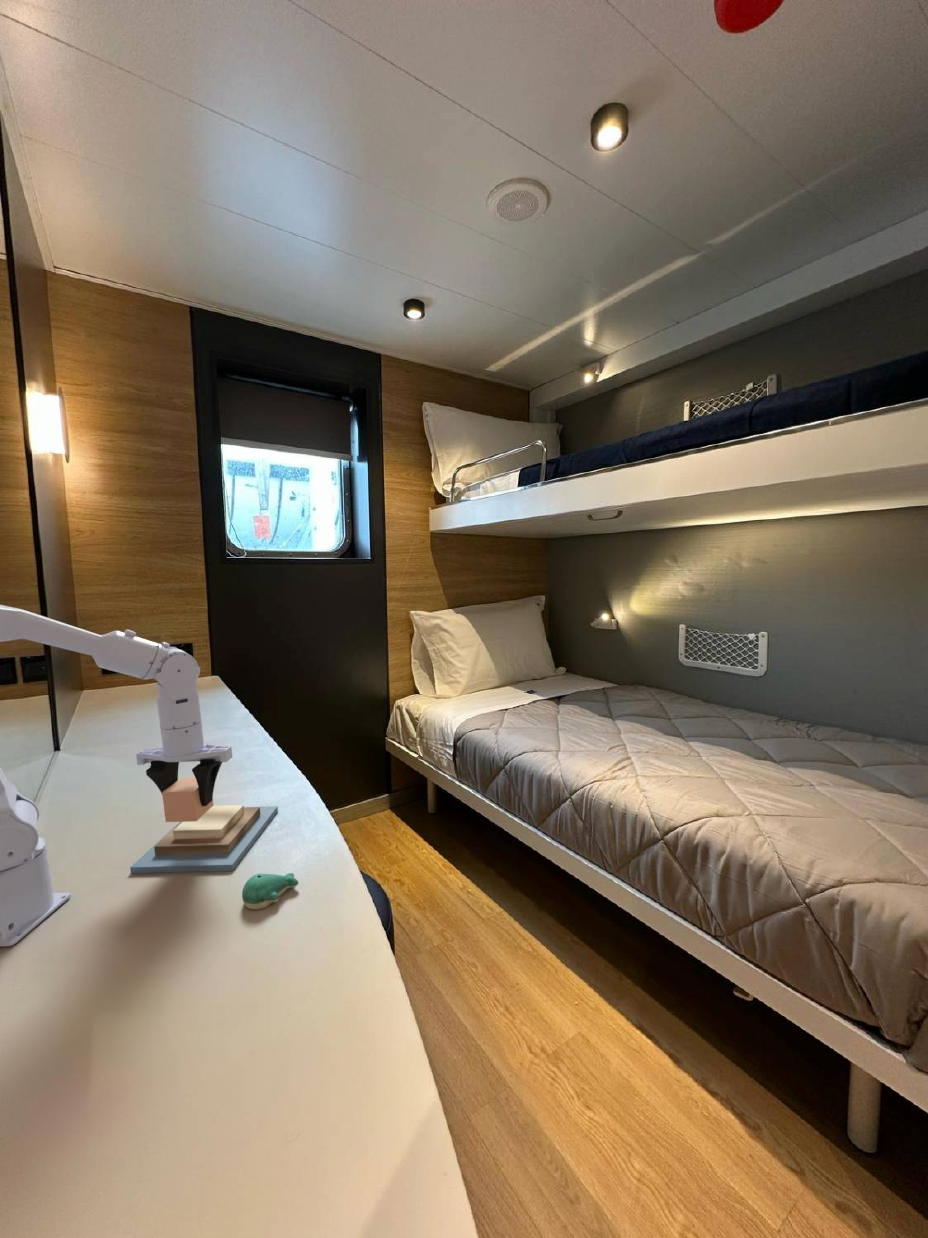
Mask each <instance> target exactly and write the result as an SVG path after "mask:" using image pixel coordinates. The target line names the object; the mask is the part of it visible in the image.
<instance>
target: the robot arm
mask: <svg viewBox="0 0 928 1238" xmlns="http://www.w3.org/2000/svg"><path fill="white" fill-rule="evenodd" d="M136 635H137V632H135V631H133V630H130V629H125V630H124V632H123V631H120V630H113V631H110V632H107V633H105V634H98V633H95V632H92V631H89V630H86V629H83V628H79V627H77V626H73V625H71V624H67V623H65V622H61V621H59V620H56V619H53V618H49V617H47V616H44V615H40V614H37V613H35V612H31V611H28V610H24V609H22V608H18V607H14V606H13V607H12V606H8V605H3V604H0V643H2V642H9V641H17V640H27V641H32V642H36V643H39V644H44V645H48V646H51V647H56V648H59V649H63V650H68V651H72V652H76V653H79V654H84V655H88V656H91V657H92V658H93V660H94V662H95V664H96V666H97V667H98V668H101V669H104V670H108V671H112V672H115V673H119V674H123V675H126V676H127V675H128V676H130V677H134V678H138V679H140V680H150V679H154V680H155V681H157V682H156V690H157V699H156V703H157V709H158V719H159V728H160V736H161V745H162V746H161V747H160V746H159V747H153V748H143V749H141V750H140V751H138V752H137V753H135V755H136V765H138V766H144V765H146V764H150V765H149V766H150V767H149V768H147V769H146V770H145V773H146V776H147V777H148V778H149V779H151V781H152V782H153V783H154V784H155V786H156V788H158V790H159V792H160V794H162V792H163V791H164V790H166V789H167V788H168V787H170V786H171V785H172V784H174V783H175V782H176V781H178V780H179V766H180V763H184V762H187V763H188V762H189V763H191V762H199V763H198V764H197V765H195V766H194V767H193V768H192V769H191V772H192V773H193V775H194V778H196V781H197V784H198V788H199V795H200V802H201V805H202V806H207V805H208V804H209V803H210V802H211V801H212V798H213V797H214V790H215V785H216V780H217V776H218V774H219V772H220V768H221V766H222V765H223V763H228V762H229V761H230V760H231V759H232V758H233V749H232V746H231V745H229V746H226V745H225V746H224V745H217V744H209V743H204V733H203V724H202V716H201V705H200V704H201V703H200V697H199V692H198V690H197V689H198V688H197V687H198V684H197V680H198V678H199V676H200V673H201V667H200V666H199V664H198V661H197V660H196V659H195V658H194V656H192V654H189V653H187V652H186V651H184V650H183V649H179V648H177V647H176V646H171V645H170V643H168V642H165V641H162V642H161V643H158V642H155V641H151V640H148V639H147V638H146V639H145V638H142V637H139V636H136ZM18 790H19V789H17V786H16V785H14V784H13V783H12V782H11V781H10V780H9V779H8V778H7V777H6V774H5V773H4V771H3V769H2V768H1V767H0V947H11V946H14V945H15V944H17V943H18V942H19V941H20V940H21V939H23V938H24V937H25V936H26V935H27V934H29V932H31V931H32V930H33V929H34V928H35V927H37V926H38V925H39V924H40V923H41V922H42V921H44V920H45V919H46V918H48V916H50V915H51V914H52V913H53V912H54V911H55V910H57V909H58V908H59V907H60V906H62V905H63V903H65V902H66V901H67V900H69V899H70V898H71V897H72V893H71V892H54V888H53V887H54V886H53V881H52V874H51V867H50V861H49V854H48V847H47V841H46V840H45V838H43V837H41V836H39V831H38V821H39V817H40V810H39V807H38V805H37V804H36V803H35V802H34V801H33V800H31V799H29V798H28V797H25V796H23V795H22V794H21V793H20V791H18ZM213 799H214V798H213Z"/></svg>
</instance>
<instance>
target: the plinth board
mask: <svg viewBox="0 0 928 1238" xmlns="http://www.w3.org/2000/svg"><path fill="white" fill-rule="evenodd" d="M278 807H279V806H278V805H275V806H274V805H272V806H245V805H244V804H235V805H234V804H233V805H229V804H228V805H213V806H212V807H211V808H210V809H209V810H208V811H207V812H206V813H205V814H204V815H203V816H202V817H201V818H200V819H199V820H198V821H188V822H178V823H177V824H176V825H175V826H174V827H173V828H172V829H171V830H170V831H168V832H167V833H166V834H165V835H164V836H163V837H162V838H161V839H160V840H158V841H157V842H156V843H155V844H154V845H153V846H151V848H149V850H147V851H146V853H144V854H143V855H142V856H141V857H140V858H139V859H137V860H136V862H134V863H133V864H132V865H131V866H130V874H148V873H149V874H153V873H155V874H158V873H159V874H161V873H162V874H163V873H188V872H189V873H191V872H192V873H193V872H231V871H232V872H233V871H234V870H235V868H236V867H237V866H238V865H239V864H240V862H241V861H242V860H243V858H244V857H245V855H246V854H247V853H248V851H249V850H250V849H251V847H252V846H253V844H254V843H255V842H256V841H257V840H258V838H259V837H260V836H261V834H262V833H263V831H264V830H265V829H266V828H267V827H268V825H269V824H270V823H271V821H272V820H273V819H274V818H275V816H276V814H277V813H278V812H279V808H278Z"/></svg>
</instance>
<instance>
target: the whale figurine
mask: <svg viewBox="0 0 928 1238" xmlns="http://www.w3.org/2000/svg"><path fill="white" fill-rule="evenodd" d="M298 885H299V881H298V879H297V878H295V875H294V873H293V872H288V873H287V874H285V875H280V874H275V873H256V874H254V875H252V876H251V877H249V879H247V881H246V882H245V884H243V888H242V892H241V894H242V895H241V897H242V901H243V902H242V903H243V904H244V905H245V907H247V908H248V909H249V910H250V909H251V910H262V909H264V908H267V907H268V906H270V905H271V904H272V903H277V902H278V901H279V899H280V896H282V895H283V894H284V893H285V892H286V891H287V890H288V889H291V888H292V889H293V888H296V887H297V886H298Z"/></svg>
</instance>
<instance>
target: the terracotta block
mask: <svg viewBox="0 0 928 1238" xmlns="http://www.w3.org/2000/svg"><path fill="white" fill-rule="evenodd" d="M161 795H162V804H163V811H164V818H165V823H176V822H178V823H179V822H188V821H198V820H199V819H200V818H201V817H202V816H203V815H204V814H205V813H206V812H207V811H208V810H209V809H210V808H211V807H212V806H214V798H212V801H211V802H210V803H209V804H208V805H207V806H202V805H201V802H200V795H199V788H198V784H197V781H196V778H195V777H180V778H178V781H176V782H175V783H174V784H172V785H171V786H170V787H168V788H167V789H166V790H164V791H163V792H162V793H161Z"/></svg>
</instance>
